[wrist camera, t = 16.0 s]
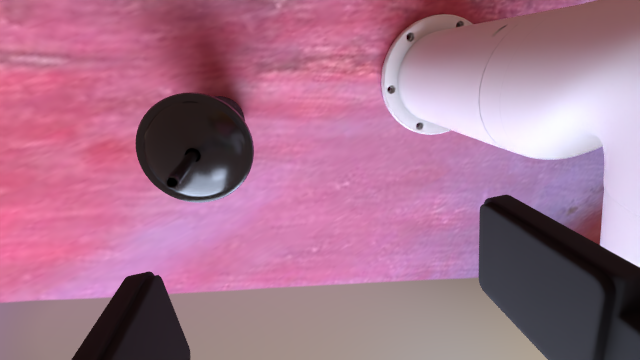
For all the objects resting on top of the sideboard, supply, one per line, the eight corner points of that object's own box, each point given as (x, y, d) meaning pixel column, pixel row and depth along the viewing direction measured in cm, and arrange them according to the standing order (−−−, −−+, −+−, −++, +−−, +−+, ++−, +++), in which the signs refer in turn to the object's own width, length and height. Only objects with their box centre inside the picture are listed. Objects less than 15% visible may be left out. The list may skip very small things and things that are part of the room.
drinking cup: (190, 71, 33) (96, 82, 15) (265, 94, 35) (266, 130, 16) (176, 143, 35) (78, 233, 17) (247, 161, 37) (231, 261, 19)
